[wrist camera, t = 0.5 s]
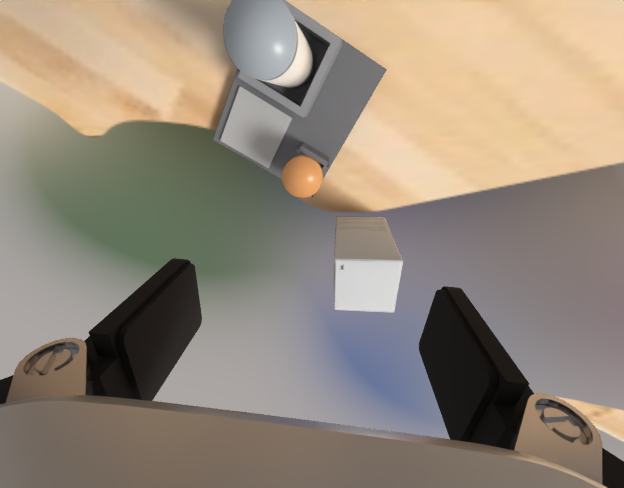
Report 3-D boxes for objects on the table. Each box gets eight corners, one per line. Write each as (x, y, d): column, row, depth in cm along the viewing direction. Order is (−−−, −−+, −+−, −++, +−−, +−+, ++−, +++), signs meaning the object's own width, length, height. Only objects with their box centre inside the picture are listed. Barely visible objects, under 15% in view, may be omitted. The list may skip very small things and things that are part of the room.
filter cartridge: (283, 26, 29) (239, -31, 17) (323, 52, 30) (309, 16, 18) (264, 73, 31) (213, 54, 19) (302, 97, 32) (276, 93, 20)
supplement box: (334, 257, 44) (331, 311, 32) (336, 214, 40) (333, 257, 29) (381, 259, 43) (395, 314, 32) (386, 216, 39) (404, 260, 28)
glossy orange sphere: (299, 143, 32) (293, 149, 28) (331, 162, 33) (329, 170, 29) (283, 175, 34) (275, 185, 30) (313, 193, 35) (309, 204, 31)
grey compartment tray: (269, -8, 29) (256, -28, 25) (384, 70, 31) (391, 65, 27) (217, 138, 37) (200, 143, 32) (313, 193, 39) (309, 205, 35)
